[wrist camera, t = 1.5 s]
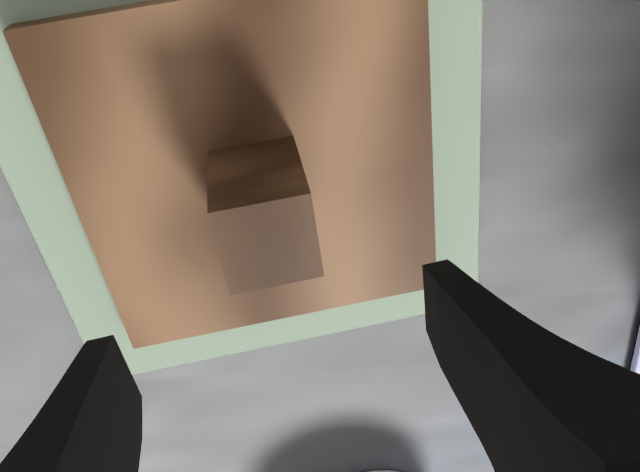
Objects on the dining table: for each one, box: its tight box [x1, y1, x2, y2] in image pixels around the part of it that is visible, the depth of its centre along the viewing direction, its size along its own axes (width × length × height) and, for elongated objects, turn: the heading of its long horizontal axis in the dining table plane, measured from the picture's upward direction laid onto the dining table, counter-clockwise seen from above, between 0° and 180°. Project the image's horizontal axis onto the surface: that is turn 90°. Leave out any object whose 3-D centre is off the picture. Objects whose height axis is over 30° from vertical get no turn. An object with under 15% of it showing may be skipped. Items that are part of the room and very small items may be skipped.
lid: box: [3, 0, 436, 349], centre depth 19 cm, size 12×12×5 cm
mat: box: [0, 0, 482, 375], centre depth 21 cm, size 16×16×1 cm
